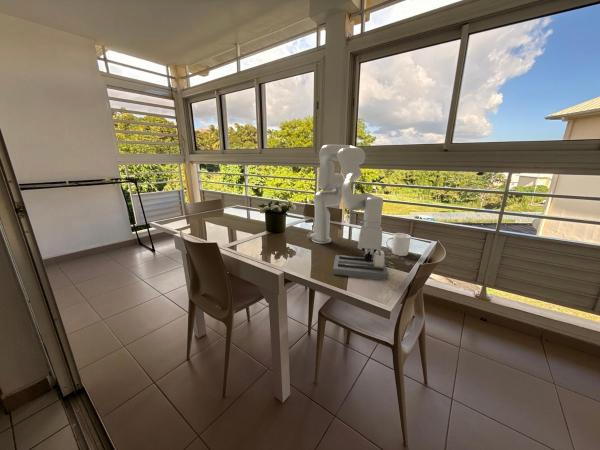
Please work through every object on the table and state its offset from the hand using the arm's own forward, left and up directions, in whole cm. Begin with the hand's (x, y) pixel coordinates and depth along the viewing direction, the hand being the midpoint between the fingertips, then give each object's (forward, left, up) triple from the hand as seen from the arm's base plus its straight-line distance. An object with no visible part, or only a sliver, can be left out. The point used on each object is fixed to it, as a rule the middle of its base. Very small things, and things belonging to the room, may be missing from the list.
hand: (367, 260), depth 113 cm
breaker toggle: (+5, 0, -1) cm, 5 cm away
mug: (+17, +26, -5) cm, 32 cm away
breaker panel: (-4, 0, -5) cm, 6 cm away
